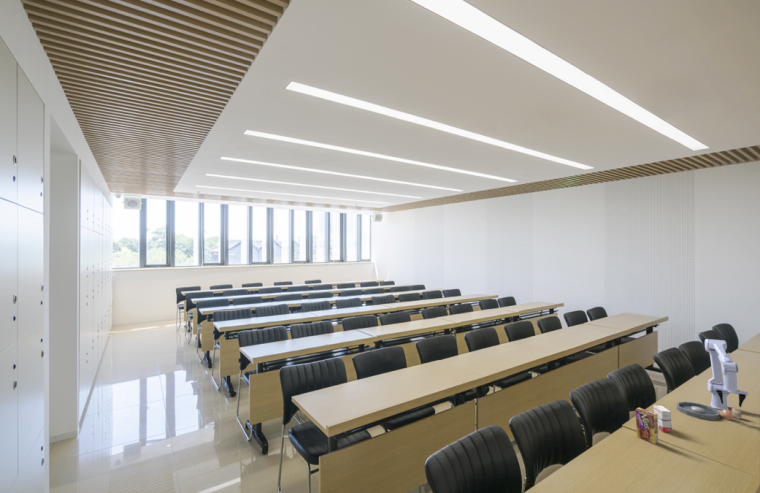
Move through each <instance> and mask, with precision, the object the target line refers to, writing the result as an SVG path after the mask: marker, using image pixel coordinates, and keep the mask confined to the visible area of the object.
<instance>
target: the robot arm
mask: <svg viewBox="0 0 760 493" xmlns="http://www.w3.org/2000/svg"><path fill="white" fill-rule="evenodd" d="M727 348H728V345H727V341H726V340H724V339H723V340H722V339H712V338H711V339H710V338H709V339H708V338H705V340H704V349H705V352H708V353H709V358H710V365H711V372H712V377H711V378H709V379H708V380H707V389H708V392H710V393H711V401H710V402H709V404H710V407H712V408H714V409H716V410H722V411H723V409H726V410H729V407H728V398H727V397H728V396H729V395H730V394H735V395H736V394H737V395H738V406H739V408H742V406H743V402H744V401H745V399H746V398H747V397H749V392H748V391H745V390H740V389H738V382H737V381H738V379H737V373H738V372H739V366H738V364H737V362H735V361H733V359H732V357H731V356H730V355H729V354H727V352H726V351H727Z"/></svg>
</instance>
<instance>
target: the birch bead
mask: <svg viewBox="0 0 760 493" xmlns="http://www.w3.org/2000/svg"><path fill="white" fill-rule="evenodd" d="M731 411H732V419H733V420H734V419H735V420H739V421H741V420H742V410H741V409H738V408H731Z"/></svg>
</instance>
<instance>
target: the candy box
mask: <svg viewBox="0 0 760 493" xmlns="http://www.w3.org/2000/svg"><path fill="white" fill-rule="evenodd" d="M635 422H636V423H635V425H636V428H635V429H636V438H639V439H642V440H644V441H647V442H650V443H652V444H654V445H655V444H657V443H659V428H658V415H657V413H654V411H651V410H648V409H645V408H641V407H637V408H635Z"/></svg>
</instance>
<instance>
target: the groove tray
mask: <svg viewBox="0 0 760 493" xmlns="http://www.w3.org/2000/svg"><path fill="white" fill-rule="evenodd" d="M676 410H677V411H679V412H680V413H683V414H685V415H686V416H689V417H694V418H697V419H702V420H709V421H716V420H717V421H718V420H719V419H720V418H721V413H720V411H719V410H718V409H716V408H712V407H711V406H709V405H705V404H701V403H699V402H698V403H696V402H692V401H678V402H677V403H676Z"/></svg>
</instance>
